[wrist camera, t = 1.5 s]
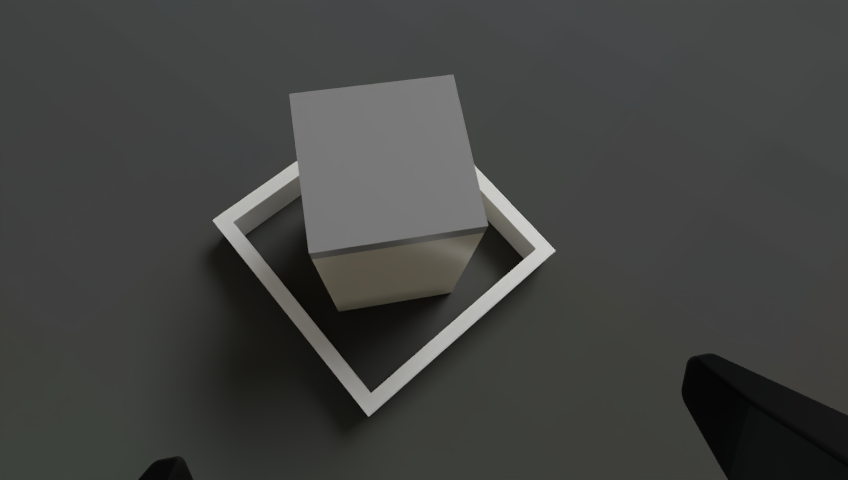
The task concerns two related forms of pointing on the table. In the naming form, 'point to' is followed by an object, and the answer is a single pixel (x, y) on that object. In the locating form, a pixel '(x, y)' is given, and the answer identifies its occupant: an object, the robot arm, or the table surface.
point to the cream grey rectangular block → (387, 189)
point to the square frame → (234, 229)
